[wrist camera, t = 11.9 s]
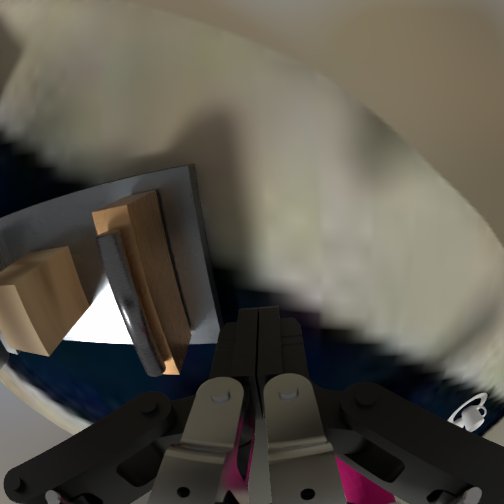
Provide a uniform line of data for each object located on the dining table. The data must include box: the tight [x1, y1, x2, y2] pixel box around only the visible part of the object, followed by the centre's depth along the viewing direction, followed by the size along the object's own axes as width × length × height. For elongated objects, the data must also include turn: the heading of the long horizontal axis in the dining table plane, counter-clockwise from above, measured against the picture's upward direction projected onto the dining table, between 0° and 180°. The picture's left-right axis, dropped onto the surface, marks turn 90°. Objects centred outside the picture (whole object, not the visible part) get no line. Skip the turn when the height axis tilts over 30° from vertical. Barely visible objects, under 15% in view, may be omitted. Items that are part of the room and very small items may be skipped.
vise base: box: [0, 164, 224, 354], centre depth 16 cm, size 20×12×6 cm, turn 97°
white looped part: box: [448, 393, 487, 432], centre depth 25 cm, size 9×8×4 cm
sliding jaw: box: [92, 190, 192, 377], centre depth 14 cm, size 2×10×5 cm, turn 7°
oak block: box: [0, 246, 90, 356], centre depth 15 cm, size 5×5×6 cm
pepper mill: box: [335, 456, 401, 504], centre depth 15 cm, size 7×7×20 cm
